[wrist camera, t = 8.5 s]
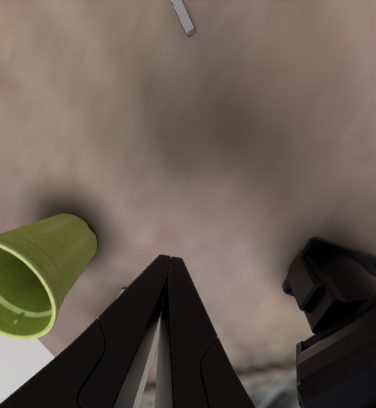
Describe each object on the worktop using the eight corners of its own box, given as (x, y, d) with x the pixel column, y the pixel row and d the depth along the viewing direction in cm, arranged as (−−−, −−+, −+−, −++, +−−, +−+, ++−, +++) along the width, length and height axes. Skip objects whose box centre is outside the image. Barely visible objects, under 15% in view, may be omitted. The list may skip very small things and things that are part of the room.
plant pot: (36, 260, 27) (-45, 320, 19) (30, 188, 23) (-73, 224, 15) (109, 281, 26) (57, 353, 18) (114, 209, 22) (53, 259, 14)
